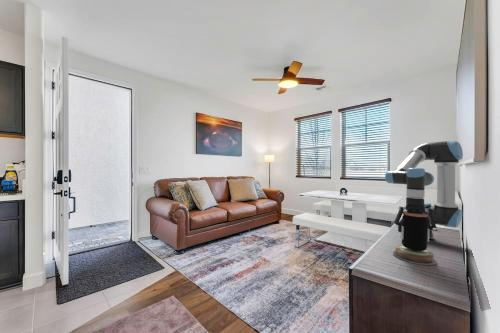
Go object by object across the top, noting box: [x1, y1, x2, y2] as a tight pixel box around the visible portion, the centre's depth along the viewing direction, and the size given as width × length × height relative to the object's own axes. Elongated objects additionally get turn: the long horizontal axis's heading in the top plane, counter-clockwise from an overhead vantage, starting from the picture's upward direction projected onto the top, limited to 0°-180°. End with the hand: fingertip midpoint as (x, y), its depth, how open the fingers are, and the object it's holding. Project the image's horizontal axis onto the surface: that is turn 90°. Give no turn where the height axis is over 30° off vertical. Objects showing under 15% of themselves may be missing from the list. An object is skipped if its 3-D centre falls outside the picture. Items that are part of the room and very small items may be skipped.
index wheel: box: [395, 244, 435, 263], centre depth 114 cm, size 16×16×9 cm
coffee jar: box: [401, 210, 428, 251], centre depth 114 cm, size 11×11×18 cm
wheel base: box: [392, 250, 437, 267], centre depth 114 cm, size 18×18×1 cm
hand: (414, 239), depth 114 cm, fingers closed on coffee jar, 11 cm apart
